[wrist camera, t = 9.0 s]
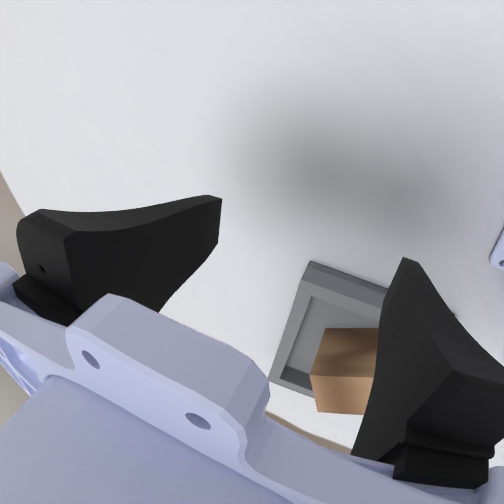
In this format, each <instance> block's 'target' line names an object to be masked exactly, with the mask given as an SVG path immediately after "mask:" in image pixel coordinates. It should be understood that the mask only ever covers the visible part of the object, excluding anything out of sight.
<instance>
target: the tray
mask: <svg viewBox="0 0 504 504" xmlns="http://www.w3.org/2000/svg"><path fill="white" fill-rule="evenodd" d="M387 291H388V289H386V288H383V287H380V286H378V285H375V284H372V283H369V282H367V281H364V280H361V279H359V278H356V277H353V276H350V275H348V274H345V273H342V272H339V271H337V270H334V269H331V268H328V267H326V266H323V265H320V264H317V263H314V262H312V261H310V262H309V264H308V266H307V268H306V270H305V273H304V275H303V277H302V279H301V282H300V285H299V288H298V291H297V294H296V297H295V300H294V303H293V306H292V310H291V313H290V316H289V319H288V322H287V324H286V327H285V330H284V333H283V336H282V339H281V342H280V345H279V348H278V351H277V353H276V356H275V359H274V362H273V365H272V368H271V370H270V373H269V376H268V381H270V382H272V383H275V384H277V385H280V386H283V387H285V388H288V389H290V390H293V391H296V392H298V393H301V394H304V395H306V396H309V397H312V398H315V397H314V393H313V389H312V384H311V380H310V376H309V375H310V372H311V369H312V366H313V363H314V361H315V358H316V355H317V352H318V349H319V346H320V343H321V340H322V337H323V334H324V331H325V328H379V320H380V314H381V309H382V304H383V299H384V297H385V295H386V293H387ZM453 315H454V314H453ZM454 316H455V315H454Z"/></svg>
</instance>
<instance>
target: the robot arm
mask: <svg viewBox="0 0 504 504" xmlns="http://www.w3.org/2000/svg"><path fill="white" fill-rule="evenodd" d="M221 206H222V199H221V198H218V197H214V196H211V195H201V196H195V197H190V198H185V199H181V200H176V201H172V202H168V203H163V204H158V205H153V206H148V207H142V208H136V209H129V210H120V211H105V212H68V211H57V210H47V209H39V210H37V211H35V212H33V213H31V214H30V215H28V216H26V217H24V218H23V219H21V220H20V221H19V223H18V225H17V230H16V236H17V242H18V247H19V251H20V254H21V258H22V261H23V264H24V268H25V271H26V274H25V275H23V276H22V277H21V278H20V276H19V275H18V273H17V272H16V271H15V270H14V269H13V268H12V267H10V266H9V265H8V264H7V263H5V262H3V261H2V262H1V263H0V363H1V365H2V366H3V367H4V368H5V369H6V370H7V371H8V373H9V374H10V375H11V376H12V377H13V378H14V379H15V380H16V382H17V383H18V384H19V385H20V386H21V387H22V388H23V389H24V390H25V391H26V392H27V393H28V394H29V396H30V397H29V399H28V400H27V401H26V402H25V403H24V404H23V405H22V406H21V407H20V408H19V409H18V410H17V411H16V412H15V413H14V414H13V415H12V417H11V418H10V419H9V420H8V421H7V422H6V423H5V424H4V425H3V426H2V427H1V428H0V504H504V466H495V467H492V468H489V459H491V458H493V457H494V455H495V449H494V445H496V444H497V443H498V442H499V441H501V440H502V439H503V438H504V366H502V365H501V364H500V363H499V362H498V361H497V360H495V359H494V358H493V357H492V356H491V355H490V354H489V353H488V352H487V351H486V350H484V349H483V348H482V347H481V346H480V344H479V343H478V342H477V341H476V340H475V339H474V338H473V337H472V336H471V335H470V334H469V333H468V332H467V331H466V329H465V328H464V327H463V326H462V325H461V323H460V322H459V321H458V320H457V319H456V317H455V316H454V315H453V313H452V312H451V311H450V309H449V308H448V306H447V305H446V304H445V302H444V301H443V299H442V298H441V296H440V295H439V293H438V292H437V290H436V289H435V287H434V285H433V284H432V282H431V281H430V279H429V278H428V276H427V274H426V273H425V271H424V270H423V268H422V267H421V266H420V264H419V263H418V262H416V261H413V260H410V259H408V258H405V257H403V258H402V260H401V263H400V265H399V267H398V269H397V272H396V274H395V276H394V278H393V280H392V283H391V285H390V287H389V289H388V291H387V293H386V295H385V297H384V299H383V304H382V309H381V314H380V320H379V330H378V342H377V354H376V365H375V373H374V379H373V383H372V387H371V391H370V395H369V399H368V403H367V406H366V410H365V413H364V417H363V420H362V423H361V426H360V429H359V432H358V435H357V438H356V441H355V443H354V446H353V449H352V451H351V454H350V455H349V454H345V453H341V452H338V451H334V450H331V449H327V448H324V447H322V446H320V445H318V444H316V443H314V442H312V441H310V440H308V439H306V438H305V437H303V436H301V435H299V434H297V433H295V432H294V431H292V430H290V429H288V428H286V427H285V426H283V425H281V424H279V423H278V422H276V421H274V420H273V419H271V418H269V417H267V416H266V415H265V409H266V406H267V403H268V401H269V398H270V390H269V382H268V378H267V377H266V376H265V374H264V373H263V372H262V371H261V370H260V368H259V367H258V366H257V365H256V364H255V362H254V361H253V360H252V359H251V358H250V357H248V356H247V355H245V354H243V353H242V352H240V351H238V350H237V349H235V348H234V347H232V346H230V345H229V344H227V343H224V342H222V341H219V340H217V339H215V338H212V337H210V336H208V335H205V334H203V333H201V332H199V331H196V330H194V329H192V328H190V327H187V326H185V325H183V324H181V323H179V322H176V321H174V320H172V319H170V318H168V317H166V316H164V315H162V314H159V311H160V310H161V309H162V307H163V306H164V305H165V303H166V302H167V301H168V300H169V298H170V297H171V296H172V295H173V294H174V293H175V292H176V291H177V290H178V289H179V288H180V287H181V286H182V284H183V283H184V282H185V281H186V280H187V279H188V278H189V277H190V276H191V275H192V274H193V273H194V272H195V271H196V270H197V269H198V268H199V267H200V266H201V265H202V264H203V263H204V262H205V261H206V259H207V258H208V256H209V255H210V254H211V252H212V251H213V249H214V248H215V246H216V245H217V244H218V236H219V226H220V216H221ZM501 260H504V230H503V232H502V234H501V236H500V238H499V240H498V242H497V244H496V246H495V248H494V250H493V252H492V254H491V256H490V262H491V264H492V266H494V267H496V268H498V269H500V270H502V271H504V262H503V263H501V264H499V262H500V261H501Z"/></svg>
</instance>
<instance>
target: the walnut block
mask: <svg viewBox="0 0 504 504" xmlns="http://www.w3.org/2000/svg"><path fill="white" fill-rule="evenodd" d="M378 330H379V328H325V331H324V334H323V337H322V340H321V343H320V346H319V349H318V352H317V355H316V358H315V361H314V363H313V366H312V369H311V372H310V375H309V376H310V380H311V384H312V389H313V393H314V397H315V402H316V406H317V411H318V412H325V413H338V414H355V415H364V413H365V410H366V406H367V403H368V399H369V395H370V391H371V387H372V383H373V379H374V373H375V365H376V354H377V342H378Z"/></svg>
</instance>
